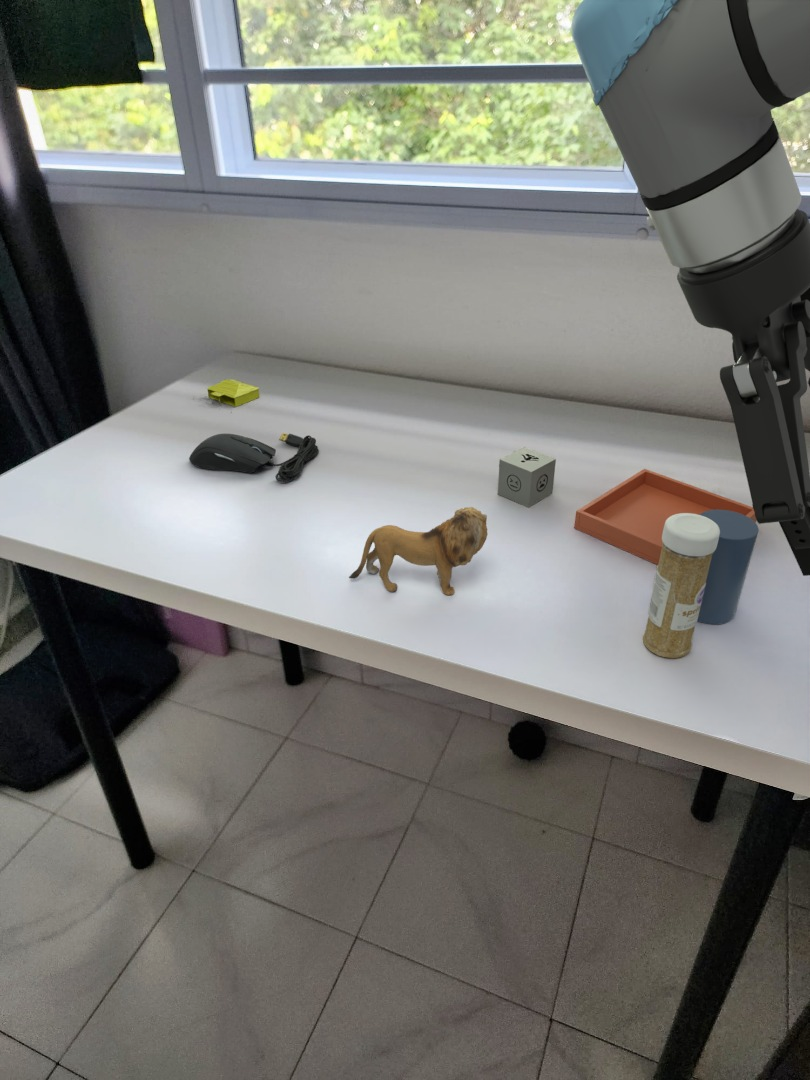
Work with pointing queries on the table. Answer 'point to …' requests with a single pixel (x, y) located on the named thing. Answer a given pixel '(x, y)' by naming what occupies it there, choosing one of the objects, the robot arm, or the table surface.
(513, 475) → the dice cube
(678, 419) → the table surface
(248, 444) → the computer mouse
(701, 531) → the spice jar
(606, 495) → the tray
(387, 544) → the lion figurine
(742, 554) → the blue can
